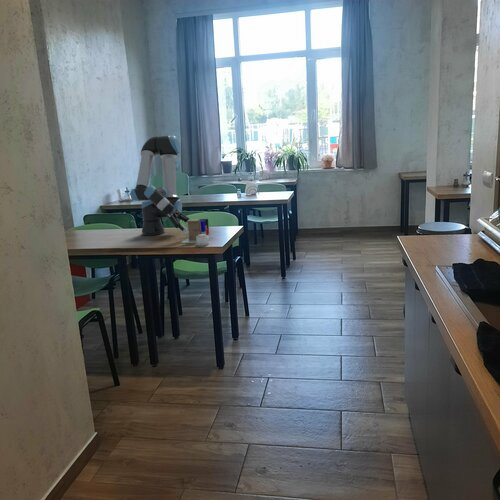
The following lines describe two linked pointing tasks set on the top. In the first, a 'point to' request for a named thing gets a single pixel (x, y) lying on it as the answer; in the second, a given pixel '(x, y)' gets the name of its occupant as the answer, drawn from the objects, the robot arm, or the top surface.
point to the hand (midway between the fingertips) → (191, 231)
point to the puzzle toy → (204, 226)
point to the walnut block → (194, 229)
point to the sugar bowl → (202, 240)
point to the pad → (190, 241)
